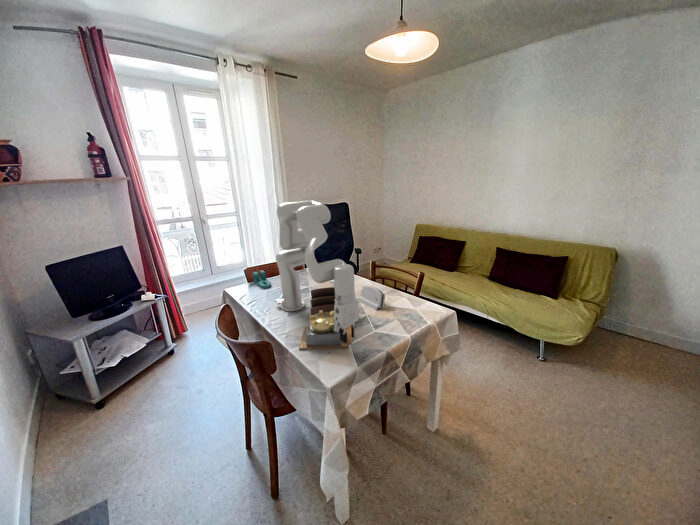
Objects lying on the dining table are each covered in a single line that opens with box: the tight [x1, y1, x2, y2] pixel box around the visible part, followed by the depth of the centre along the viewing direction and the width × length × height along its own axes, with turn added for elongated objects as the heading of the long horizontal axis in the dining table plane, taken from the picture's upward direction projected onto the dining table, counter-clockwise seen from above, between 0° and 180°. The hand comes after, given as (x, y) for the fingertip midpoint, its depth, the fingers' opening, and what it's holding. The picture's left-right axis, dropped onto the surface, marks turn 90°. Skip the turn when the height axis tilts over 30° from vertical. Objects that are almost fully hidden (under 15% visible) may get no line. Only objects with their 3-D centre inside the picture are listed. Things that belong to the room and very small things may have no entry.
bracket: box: [252, 269, 272, 290], centre depth 183 cm, size 18×7×8 cm, turn 36°
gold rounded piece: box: [308, 310, 353, 346], centre depth 115 cm, size 21×12×8 cm, turn 49°
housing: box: [298, 320, 350, 350], centre depth 119 cm, size 20×16×6 cm
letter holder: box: [309, 286, 335, 315], centre depth 136 cm, size 10×20×14 cm, turn 92°
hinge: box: [356, 285, 386, 311], centre depth 149 cm, size 17×5×10 cm, turn 36°
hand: (347, 338), depth 110 cm, fingers closed on gold rounded piece, 3 cm apart
